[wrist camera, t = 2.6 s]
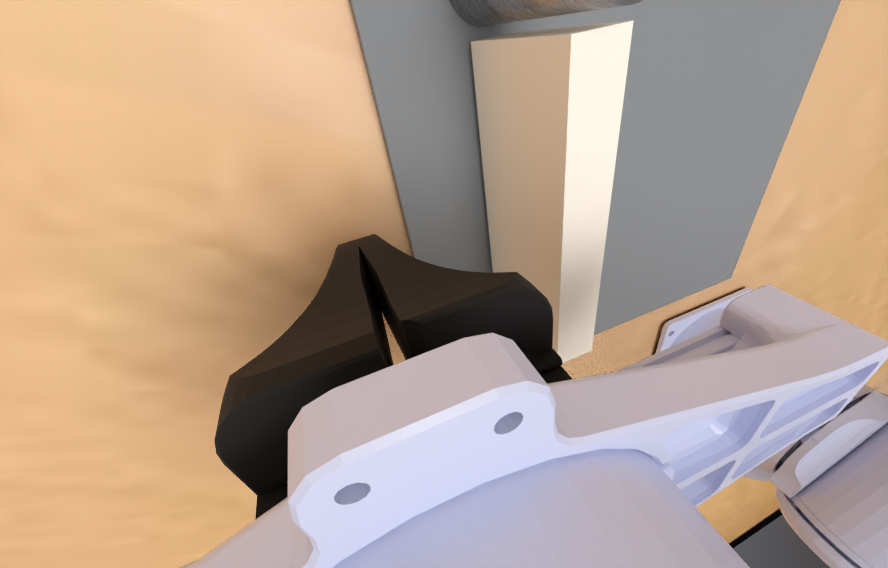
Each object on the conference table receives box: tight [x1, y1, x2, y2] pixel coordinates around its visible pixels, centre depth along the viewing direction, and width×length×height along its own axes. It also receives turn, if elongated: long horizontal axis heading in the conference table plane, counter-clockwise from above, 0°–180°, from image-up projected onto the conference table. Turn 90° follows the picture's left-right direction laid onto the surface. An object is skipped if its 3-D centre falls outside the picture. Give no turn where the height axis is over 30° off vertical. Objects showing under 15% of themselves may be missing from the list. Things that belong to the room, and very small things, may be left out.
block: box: [471, 20, 634, 363], centre depth 12 cm, size 11×2×5 cm, turn 10°
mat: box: [349, 0, 841, 335], centre depth 17 cm, size 20×21×1 cm
